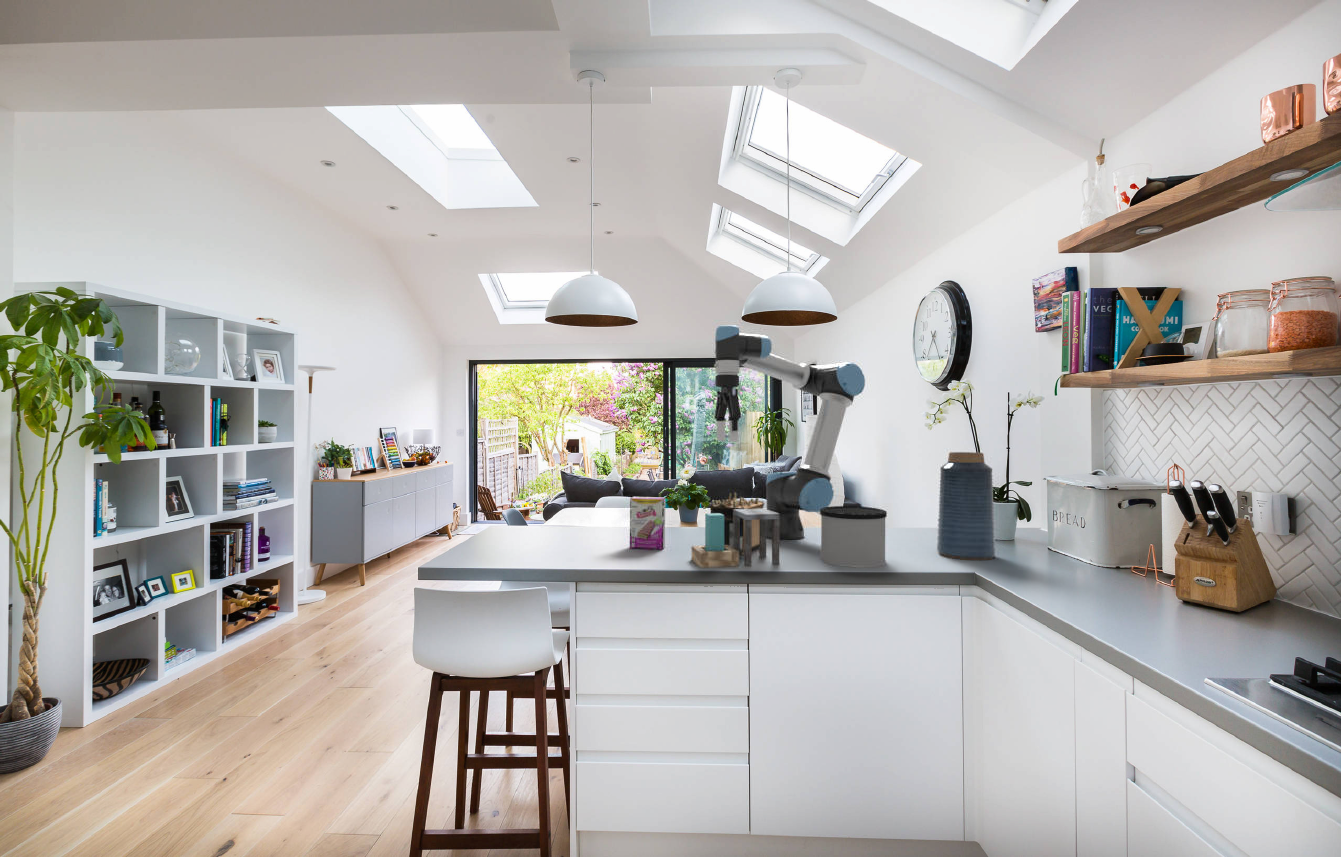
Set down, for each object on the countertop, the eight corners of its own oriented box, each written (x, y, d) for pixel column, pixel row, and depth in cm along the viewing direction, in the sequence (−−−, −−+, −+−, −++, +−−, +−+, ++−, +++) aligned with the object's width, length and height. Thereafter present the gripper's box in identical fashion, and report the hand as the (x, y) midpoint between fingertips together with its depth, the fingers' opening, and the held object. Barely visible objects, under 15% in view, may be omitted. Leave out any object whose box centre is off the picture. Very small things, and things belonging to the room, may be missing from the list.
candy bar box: (629, 549, 205) (629, 498, 205) (631, 546, 210) (631, 496, 210) (663, 549, 204) (663, 498, 204) (665, 547, 209) (665, 496, 209)
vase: (994, 552, 200) (994, 452, 200) (996, 562, 186) (996, 454, 186) (938, 548, 207) (938, 451, 207) (935, 557, 193) (936, 453, 192)
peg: (719, 560, 187) (719, 513, 187) (724, 563, 183) (724, 515, 183) (705, 561, 186) (705, 513, 186) (709, 564, 182) (709, 515, 182)
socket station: (764, 556, 194) (764, 508, 194) (779, 564, 182) (779, 513, 182) (691, 559, 189) (691, 510, 189) (701, 567, 177) (701, 515, 177)
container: (815, 564, 183) (815, 512, 183) (824, 552, 201) (825, 504, 201) (884, 569, 176) (884, 515, 176) (888, 556, 194) (888, 507, 194)
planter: (786, 557, 193) (786, 495, 194) (704, 558, 191) (704, 495, 192) (766, 544, 218) (766, 489, 219) (694, 545, 216) (694, 489, 217)
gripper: (705, 377, 214) (705, 440, 214) (727, 371, 190) (727, 442, 190) (726, 377, 216) (726, 440, 216) (751, 371, 192) (751, 442, 192)
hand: (727, 441), depth 203 cm, fingers open, 13 cm apart
